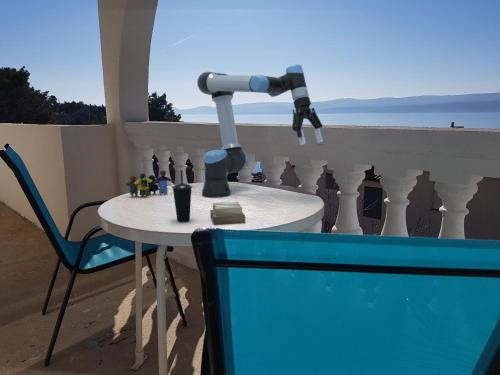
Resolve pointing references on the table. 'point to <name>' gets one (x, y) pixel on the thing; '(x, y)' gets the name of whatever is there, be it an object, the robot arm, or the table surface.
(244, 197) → the table surface
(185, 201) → the drinking cup
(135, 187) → the doll family
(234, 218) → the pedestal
